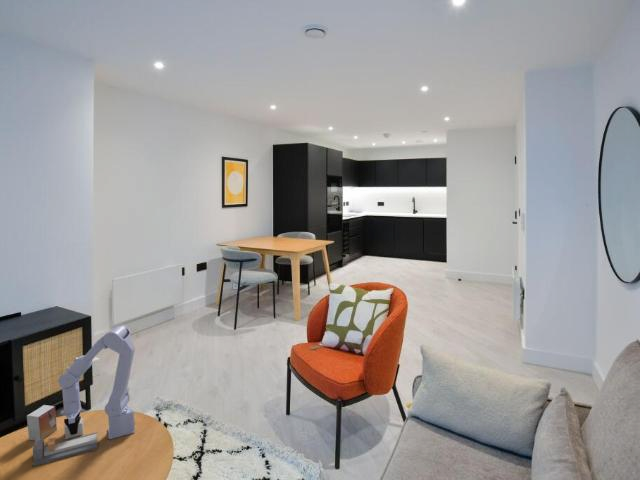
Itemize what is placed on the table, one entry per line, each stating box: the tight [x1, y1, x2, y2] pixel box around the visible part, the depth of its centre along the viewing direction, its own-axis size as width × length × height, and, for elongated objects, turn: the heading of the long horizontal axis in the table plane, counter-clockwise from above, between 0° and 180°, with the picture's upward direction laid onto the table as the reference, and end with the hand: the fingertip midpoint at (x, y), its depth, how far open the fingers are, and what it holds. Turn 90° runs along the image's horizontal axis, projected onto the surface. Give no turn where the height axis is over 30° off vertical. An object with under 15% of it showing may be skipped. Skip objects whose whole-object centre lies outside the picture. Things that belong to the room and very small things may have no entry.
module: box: [64, 416, 84, 440], centre depth 160 cm, size 6×4×5 cm
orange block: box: [47, 437, 57, 451], centre depth 148 cm, size 2×4×2 cm, turn 29°
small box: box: [26, 404, 58, 442], centre depth 159 cm, size 8×6×10 cm
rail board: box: [32, 431, 98, 467], centre depth 151 cm, size 20×10×5 cm, turn 119°
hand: (74, 430), depth 161 cm, fingers closed on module, 4 cm apart
